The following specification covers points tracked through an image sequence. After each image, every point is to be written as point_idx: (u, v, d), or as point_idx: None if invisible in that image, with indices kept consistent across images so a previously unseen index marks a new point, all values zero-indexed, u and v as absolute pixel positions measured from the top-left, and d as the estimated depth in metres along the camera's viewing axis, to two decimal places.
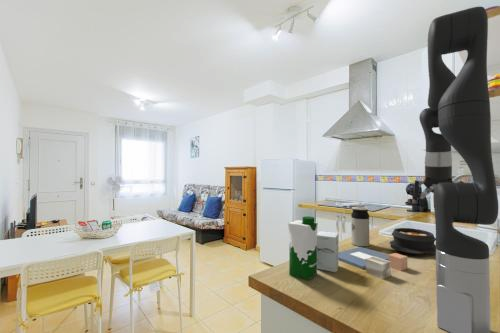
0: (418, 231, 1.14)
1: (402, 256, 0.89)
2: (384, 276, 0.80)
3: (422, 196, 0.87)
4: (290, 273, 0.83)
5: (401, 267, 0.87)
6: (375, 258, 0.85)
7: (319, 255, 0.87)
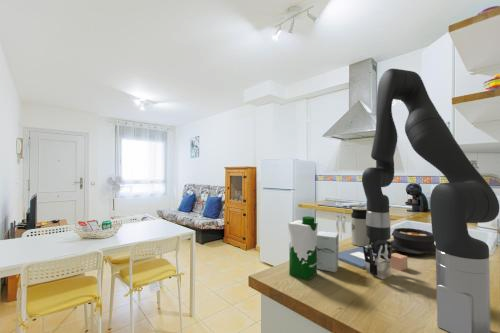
0: (418, 231, 1.14)
1: (402, 256, 0.89)
2: (384, 276, 0.80)
3: (376, 262, 0.81)
4: (290, 273, 0.83)
5: (401, 267, 0.87)
6: None
7: (319, 255, 0.87)
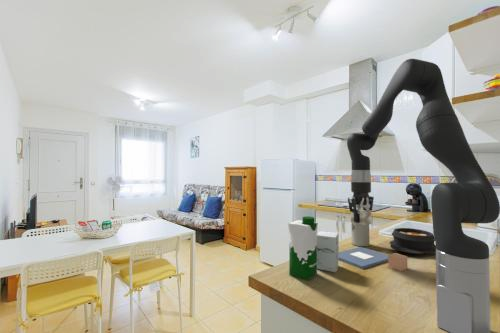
0: (418, 231, 1.14)
1: (402, 256, 0.89)
2: (365, 222, 0.97)
3: (358, 211, 0.97)
4: (290, 273, 0.83)
5: (401, 267, 0.87)
6: None
7: (319, 255, 0.87)
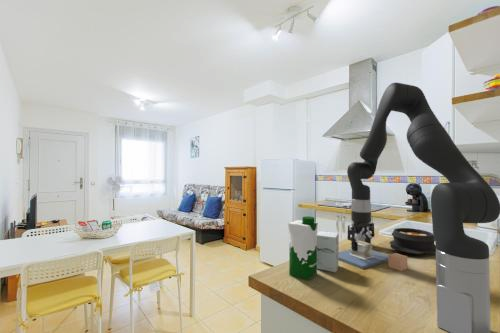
0: (418, 231, 1.14)
1: (402, 256, 0.89)
2: (365, 256, 0.96)
3: (356, 240, 0.96)
4: (290, 273, 0.83)
5: (401, 267, 0.87)
6: (359, 242, 1.01)
7: (319, 255, 0.87)
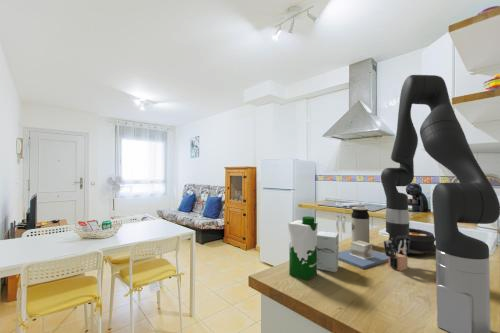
0: (418, 231, 1.14)
1: (402, 255, 0.89)
2: (365, 256, 0.96)
3: (396, 256, 0.87)
4: (290, 273, 0.83)
5: (401, 267, 0.87)
6: (359, 242, 1.01)
7: (319, 255, 0.87)
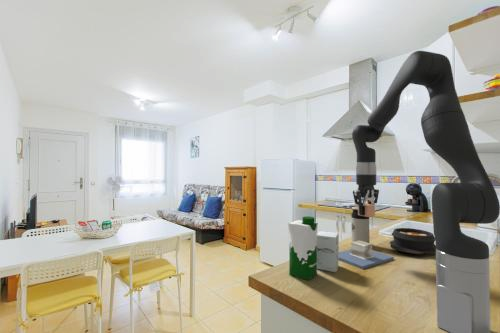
0: (418, 231, 1.14)
1: (370, 204, 0.99)
2: (365, 256, 0.96)
3: (364, 204, 0.97)
4: (290, 273, 0.83)
5: (368, 213, 0.96)
6: (359, 242, 1.01)
7: (319, 255, 0.87)
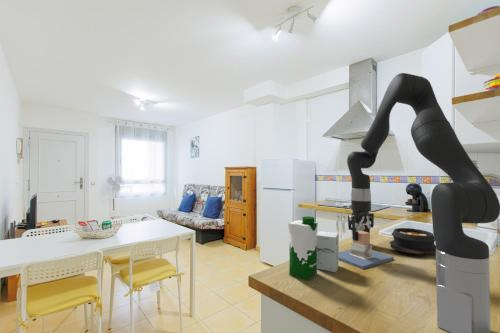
0: (418, 231, 1.14)
1: (365, 232, 0.99)
2: (365, 256, 0.96)
3: (357, 229, 0.97)
4: (290, 273, 0.83)
5: (363, 242, 0.97)
6: None
7: (319, 255, 0.87)
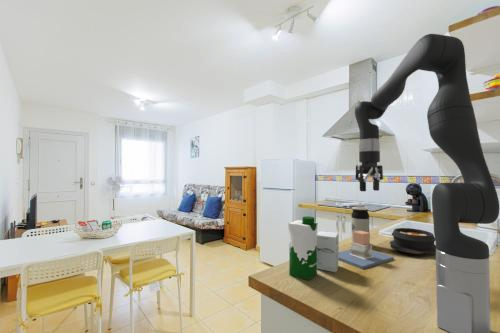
0: (418, 231, 1.14)
1: (365, 232, 0.99)
2: (365, 256, 0.96)
3: (365, 179, 0.93)
4: (290, 273, 0.83)
5: (363, 242, 0.97)
6: None
7: (319, 255, 0.87)
